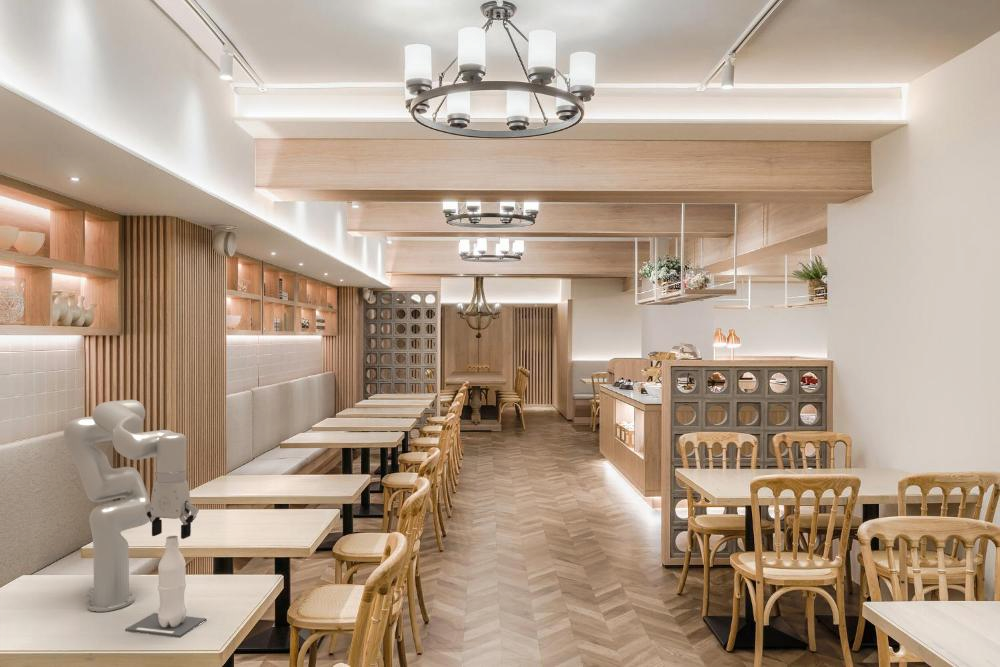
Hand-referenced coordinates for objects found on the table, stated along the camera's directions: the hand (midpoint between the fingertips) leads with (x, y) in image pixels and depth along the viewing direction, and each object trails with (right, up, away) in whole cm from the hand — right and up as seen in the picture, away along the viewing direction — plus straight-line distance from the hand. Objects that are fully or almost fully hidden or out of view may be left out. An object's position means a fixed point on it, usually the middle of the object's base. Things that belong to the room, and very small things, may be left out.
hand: (171, 536), depth 189 cm
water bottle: (0, -26, 0) cm, 26 cm away
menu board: (-1, -26, 0) cm, 26 cm away
